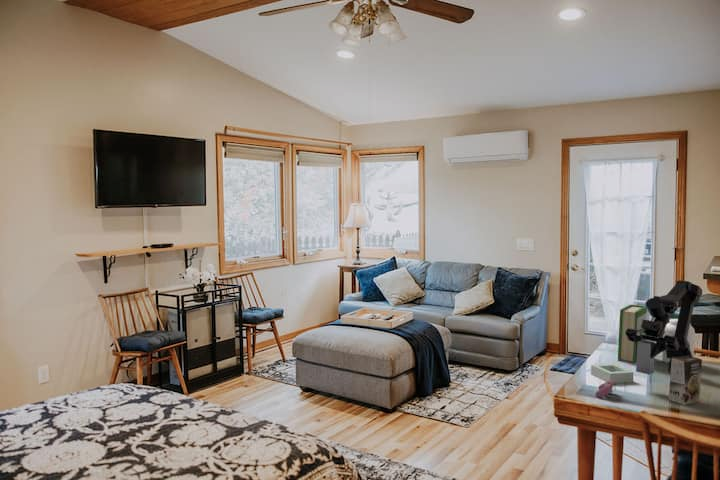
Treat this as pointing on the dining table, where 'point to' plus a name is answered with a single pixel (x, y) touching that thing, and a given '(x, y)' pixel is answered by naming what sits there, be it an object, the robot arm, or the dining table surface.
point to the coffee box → (685, 380)
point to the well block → (612, 373)
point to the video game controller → (605, 388)
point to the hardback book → (631, 319)
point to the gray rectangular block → (645, 357)
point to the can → (671, 330)
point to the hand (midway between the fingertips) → (644, 356)
